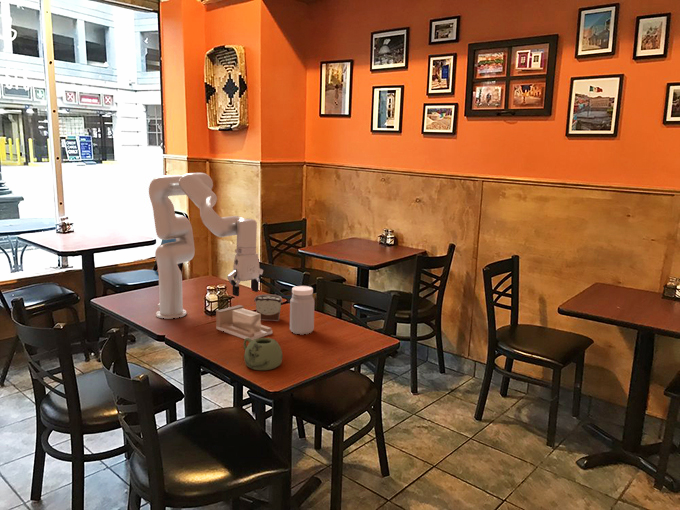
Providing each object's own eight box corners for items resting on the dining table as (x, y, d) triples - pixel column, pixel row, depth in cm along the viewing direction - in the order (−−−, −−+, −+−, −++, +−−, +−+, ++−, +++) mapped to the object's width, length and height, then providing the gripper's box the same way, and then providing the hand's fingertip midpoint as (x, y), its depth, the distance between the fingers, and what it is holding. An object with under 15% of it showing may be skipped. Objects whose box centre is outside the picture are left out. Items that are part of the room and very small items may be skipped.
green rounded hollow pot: (290, 364, 184) (290, 340, 182) (263, 375, 173) (263, 350, 172) (257, 352, 193) (257, 329, 191) (229, 363, 183) (229, 338, 181)
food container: (285, 316, 236) (285, 294, 234) (282, 321, 230) (282, 298, 228) (257, 315, 237) (257, 293, 235) (254, 319, 231) (253, 296, 229)
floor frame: (216, 328, 217) (216, 310, 216) (239, 322, 226) (239, 304, 225) (249, 340, 205) (249, 321, 203) (272, 333, 214) (272, 315, 212)
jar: (285, 333, 214) (286, 289, 211) (295, 326, 223) (296, 284, 220) (308, 336, 211) (308, 292, 208) (317, 329, 220) (318, 286, 217)
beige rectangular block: (250, 333, 209) (250, 316, 208) (232, 327, 216) (232, 310, 214) (260, 330, 213) (260, 313, 211) (242, 324, 220) (242, 308, 218)
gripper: (235, 255, 199) (234, 299, 203) (269, 249, 212) (268, 291, 216) (222, 251, 204) (221, 295, 207) (256, 246, 217) (255, 287, 221)
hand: (245, 293), depth 212 cm, fingers open, 9 cm apart
